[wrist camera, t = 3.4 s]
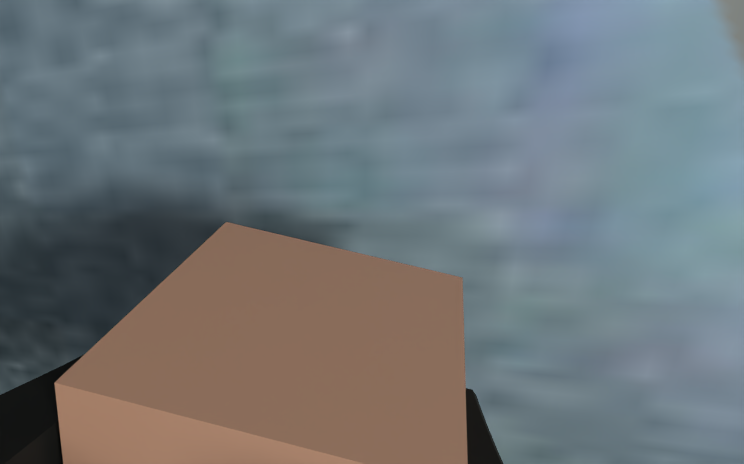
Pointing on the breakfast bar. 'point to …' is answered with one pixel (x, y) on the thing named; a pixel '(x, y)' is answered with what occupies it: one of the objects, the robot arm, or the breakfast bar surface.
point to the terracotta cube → (275, 363)
